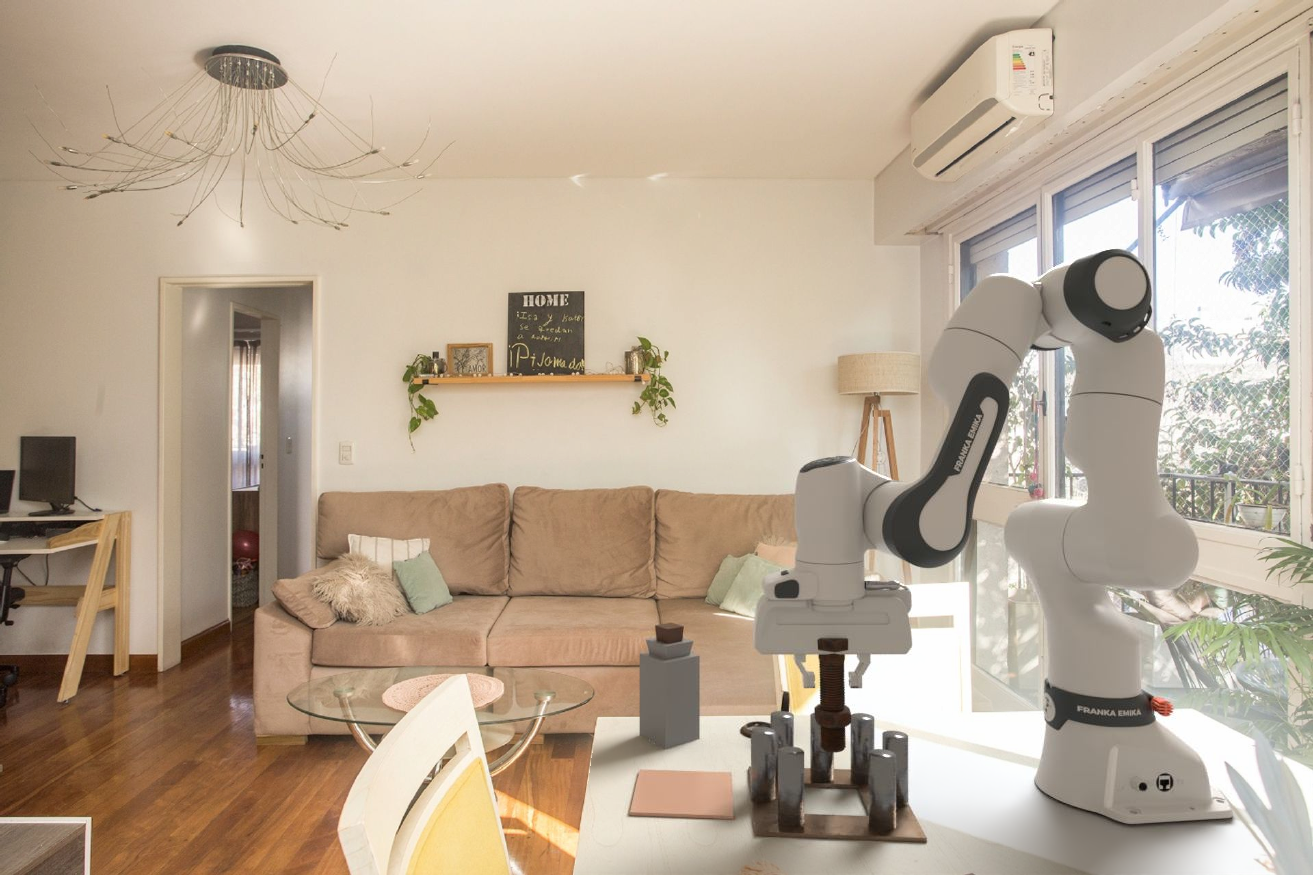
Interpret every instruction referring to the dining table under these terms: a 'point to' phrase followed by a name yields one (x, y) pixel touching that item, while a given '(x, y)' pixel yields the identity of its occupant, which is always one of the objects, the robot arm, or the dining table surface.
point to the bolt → (832, 695)
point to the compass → (747, 732)
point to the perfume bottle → (669, 688)
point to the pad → (683, 794)
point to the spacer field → (831, 783)
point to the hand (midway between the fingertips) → (832, 687)
